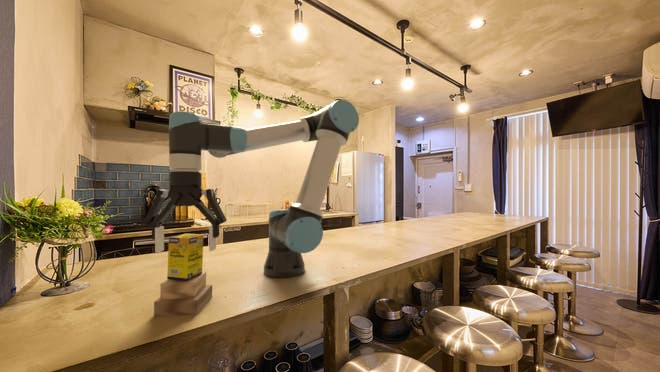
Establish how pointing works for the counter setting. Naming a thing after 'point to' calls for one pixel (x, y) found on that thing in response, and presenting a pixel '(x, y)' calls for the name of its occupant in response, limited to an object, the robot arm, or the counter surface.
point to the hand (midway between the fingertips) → (186, 250)
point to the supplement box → (185, 256)
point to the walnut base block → (183, 304)
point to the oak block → (182, 288)
